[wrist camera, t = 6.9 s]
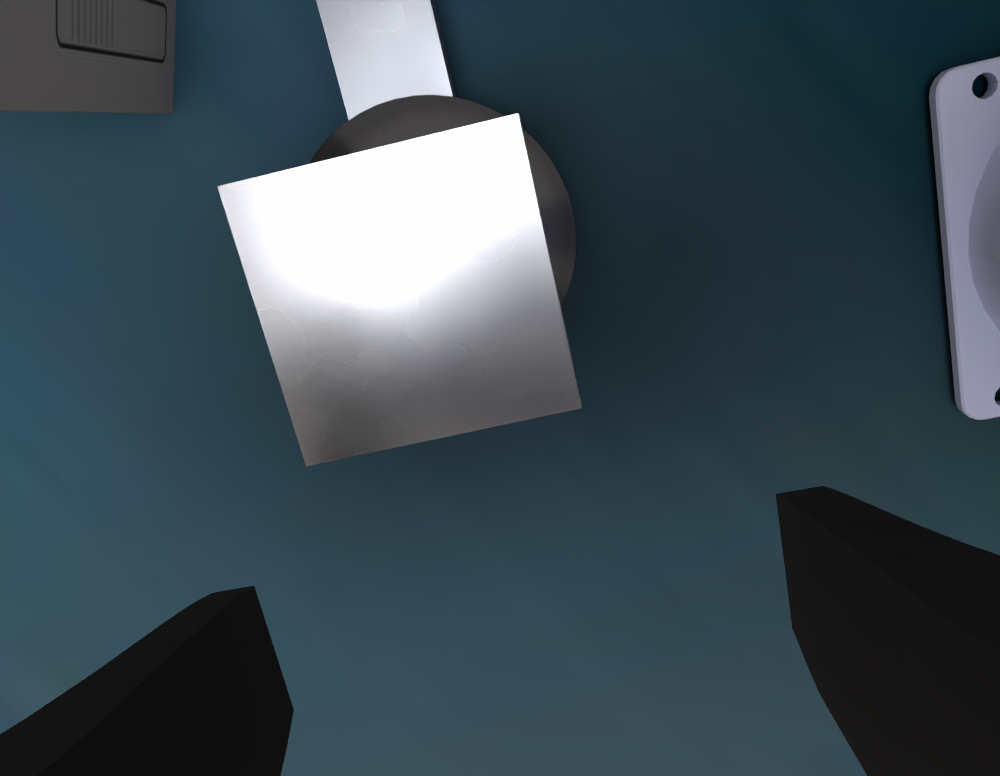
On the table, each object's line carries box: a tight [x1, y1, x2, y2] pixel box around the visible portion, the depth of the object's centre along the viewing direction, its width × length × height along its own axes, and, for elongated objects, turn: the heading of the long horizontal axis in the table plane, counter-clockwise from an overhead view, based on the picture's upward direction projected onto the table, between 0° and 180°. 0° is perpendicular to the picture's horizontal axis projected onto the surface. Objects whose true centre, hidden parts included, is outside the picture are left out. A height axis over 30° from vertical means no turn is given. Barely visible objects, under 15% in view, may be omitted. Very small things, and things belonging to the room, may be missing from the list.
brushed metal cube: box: [217, 113, 582, 466], centre depth 16 cm, size 5×5×5 cm
